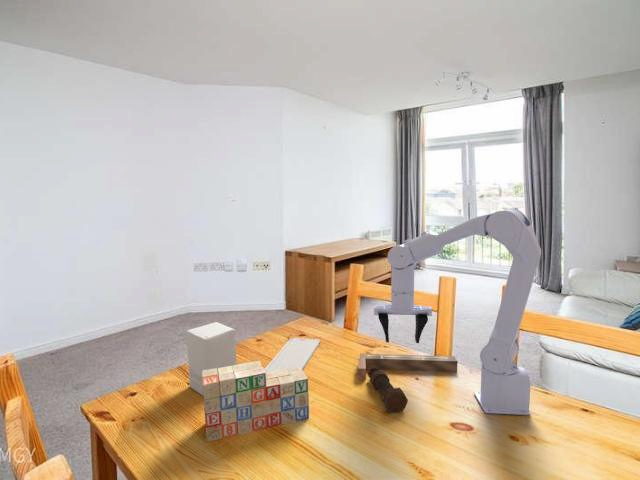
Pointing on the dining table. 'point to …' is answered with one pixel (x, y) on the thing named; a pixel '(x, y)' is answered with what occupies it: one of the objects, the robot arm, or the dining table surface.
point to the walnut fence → (405, 363)
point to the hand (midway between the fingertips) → (402, 341)
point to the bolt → (388, 391)
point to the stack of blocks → (252, 399)
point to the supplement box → (209, 351)
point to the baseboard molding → (293, 354)
